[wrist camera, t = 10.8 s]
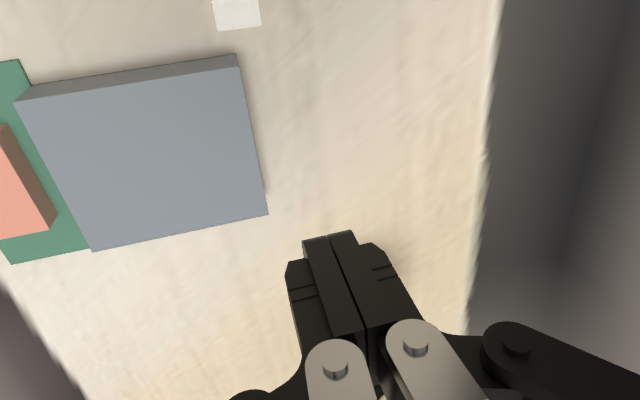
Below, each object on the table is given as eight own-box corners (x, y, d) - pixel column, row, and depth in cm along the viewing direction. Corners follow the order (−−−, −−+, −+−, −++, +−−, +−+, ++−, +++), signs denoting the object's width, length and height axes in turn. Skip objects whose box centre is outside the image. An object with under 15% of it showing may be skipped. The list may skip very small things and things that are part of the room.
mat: (-115, 78, 30) (-118, 80, 29) (18, 59, 31) (17, 60, 31) (12, 262, 40) (11, 264, 39) (109, 242, 41) (108, 244, 41)
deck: (31, 85, 32) (11, 102, 29) (235, 53, 34) (238, 66, 31) (101, 226, 40) (92, 252, 37) (263, 193, 42) (269, 214, 39)
